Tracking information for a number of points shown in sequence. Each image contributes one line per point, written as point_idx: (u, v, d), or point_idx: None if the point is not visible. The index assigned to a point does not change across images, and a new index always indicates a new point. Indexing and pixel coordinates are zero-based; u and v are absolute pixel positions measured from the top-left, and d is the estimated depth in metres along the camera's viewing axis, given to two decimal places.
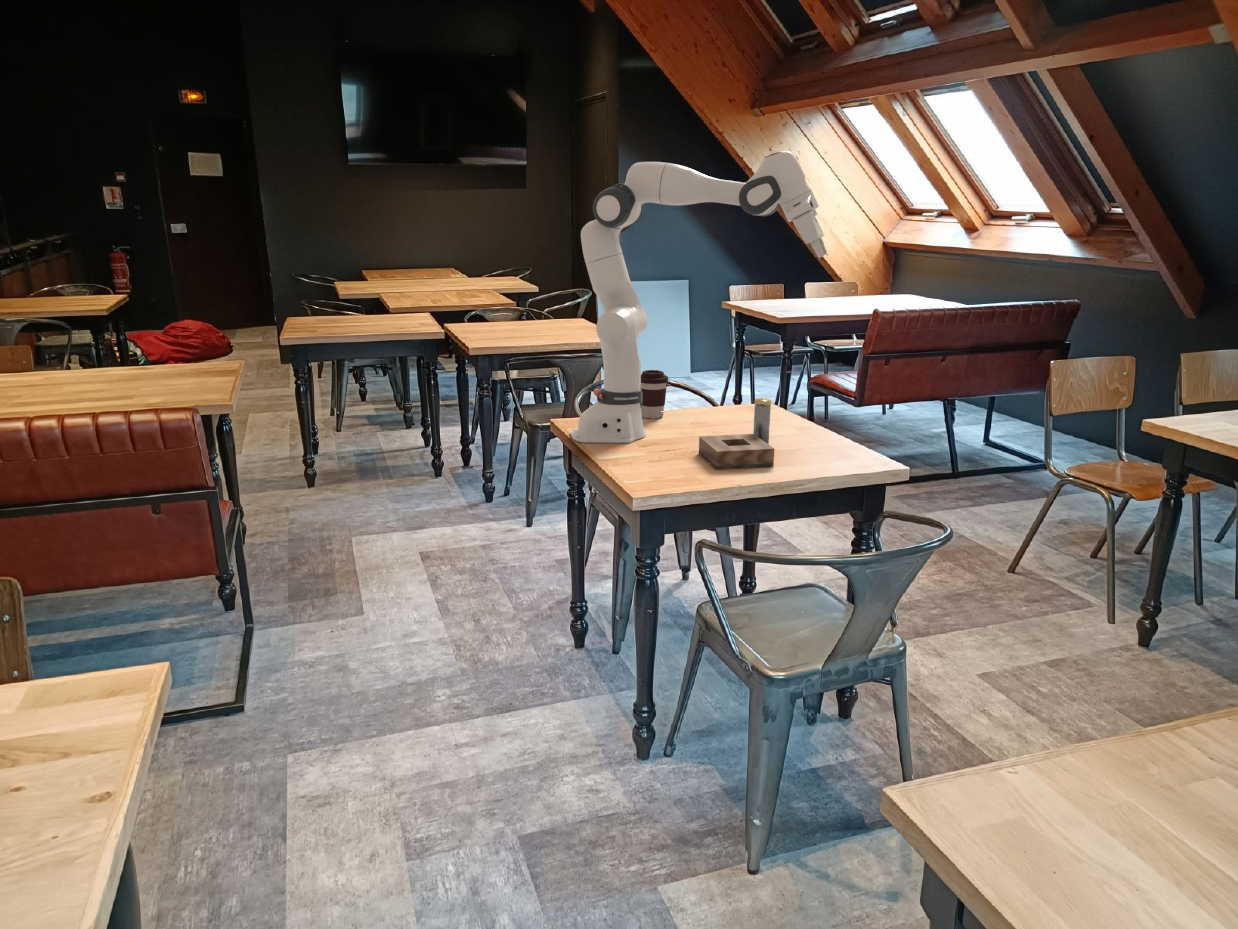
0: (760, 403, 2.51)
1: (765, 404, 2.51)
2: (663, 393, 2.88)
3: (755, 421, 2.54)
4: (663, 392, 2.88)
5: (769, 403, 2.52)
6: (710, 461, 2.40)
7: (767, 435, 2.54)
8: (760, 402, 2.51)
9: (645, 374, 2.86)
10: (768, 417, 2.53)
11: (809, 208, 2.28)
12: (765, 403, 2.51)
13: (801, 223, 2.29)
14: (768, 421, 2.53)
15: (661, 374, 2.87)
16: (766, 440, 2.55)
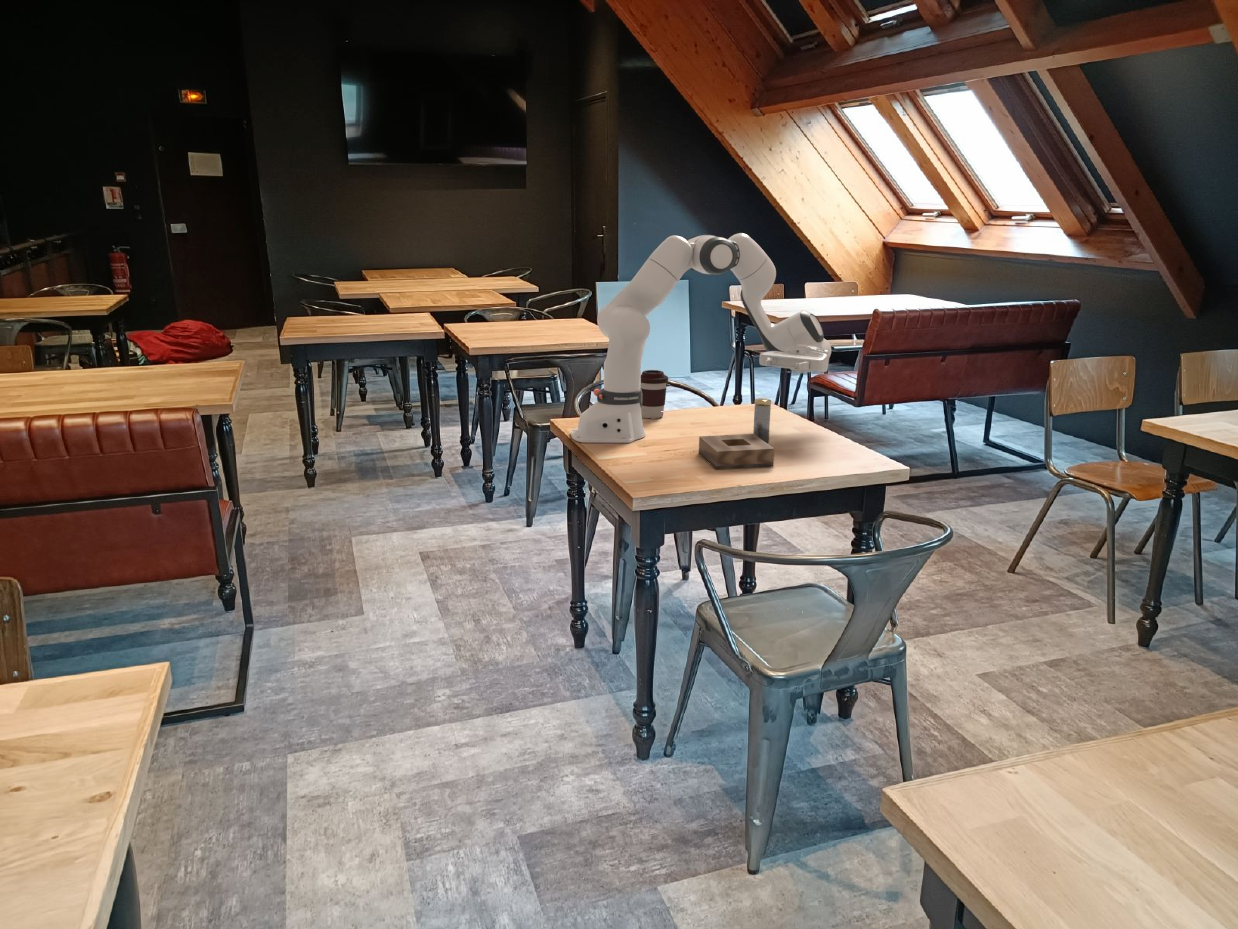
0: (760, 403, 2.51)
1: (765, 404, 2.51)
2: (663, 393, 2.88)
3: (755, 421, 2.54)
4: (663, 392, 2.88)
5: (769, 403, 2.52)
6: (710, 461, 2.40)
7: (767, 435, 2.54)
8: (760, 402, 2.51)
9: (645, 374, 2.86)
10: (768, 417, 2.53)
11: (825, 370, 2.66)
12: (765, 403, 2.51)
13: (826, 361, 2.63)
14: (768, 421, 2.53)
15: (661, 374, 2.87)
16: (766, 440, 2.55)
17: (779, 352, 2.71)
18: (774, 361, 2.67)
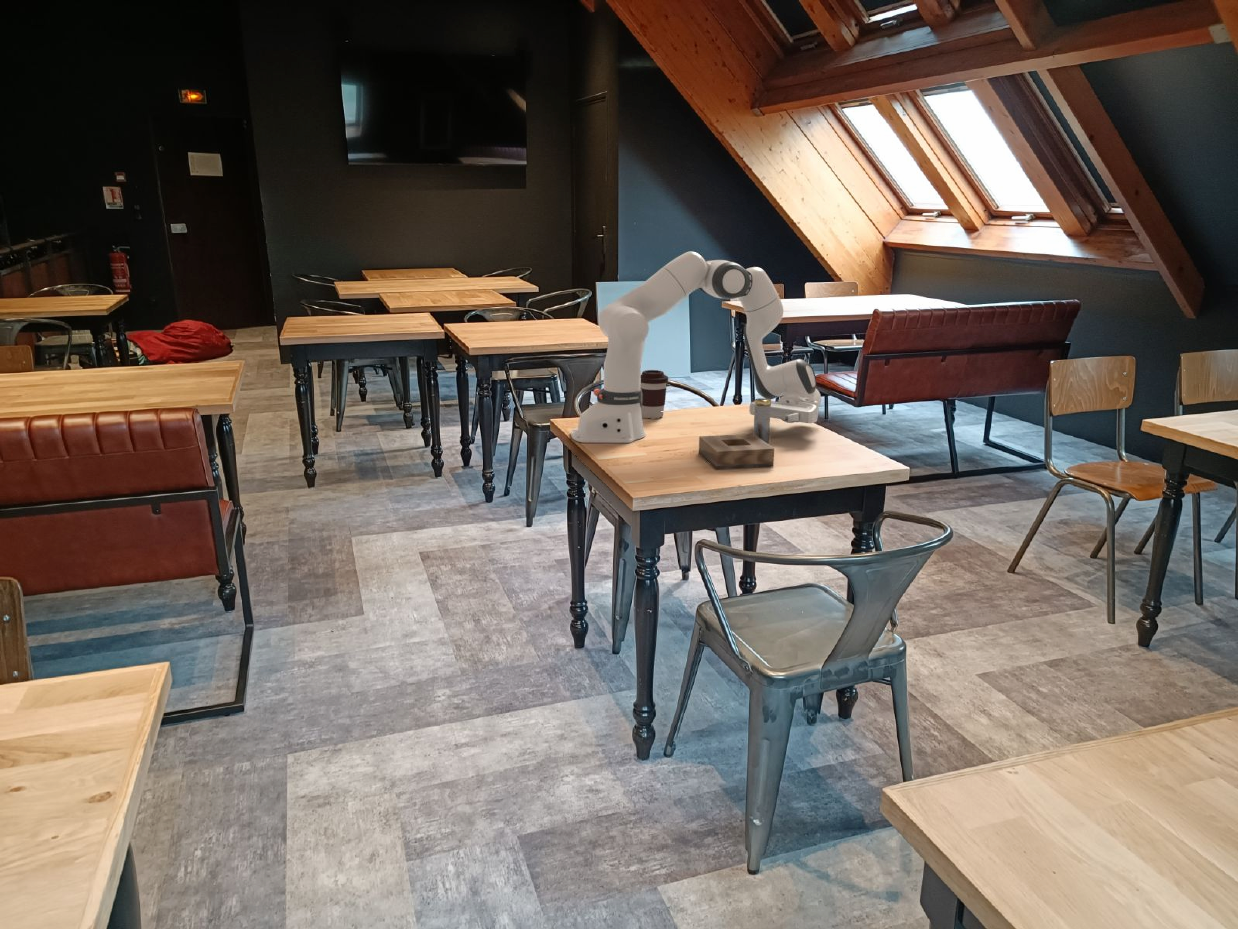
0: (760, 403, 2.51)
1: (765, 404, 2.51)
2: (663, 393, 2.88)
3: (755, 421, 2.54)
4: (663, 392, 2.88)
5: (769, 403, 2.52)
6: (710, 461, 2.40)
7: (767, 435, 2.54)
8: (760, 402, 2.51)
9: (645, 374, 2.86)
10: (768, 417, 2.53)
11: (815, 420, 2.67)
12: (765, 403, 2.51)
13: (816, 412, 2.64)
14: (768, 421, 2.53)
15: (661, 374, 2.87)
16: (766, 440, 2.55)
17: None
18: None
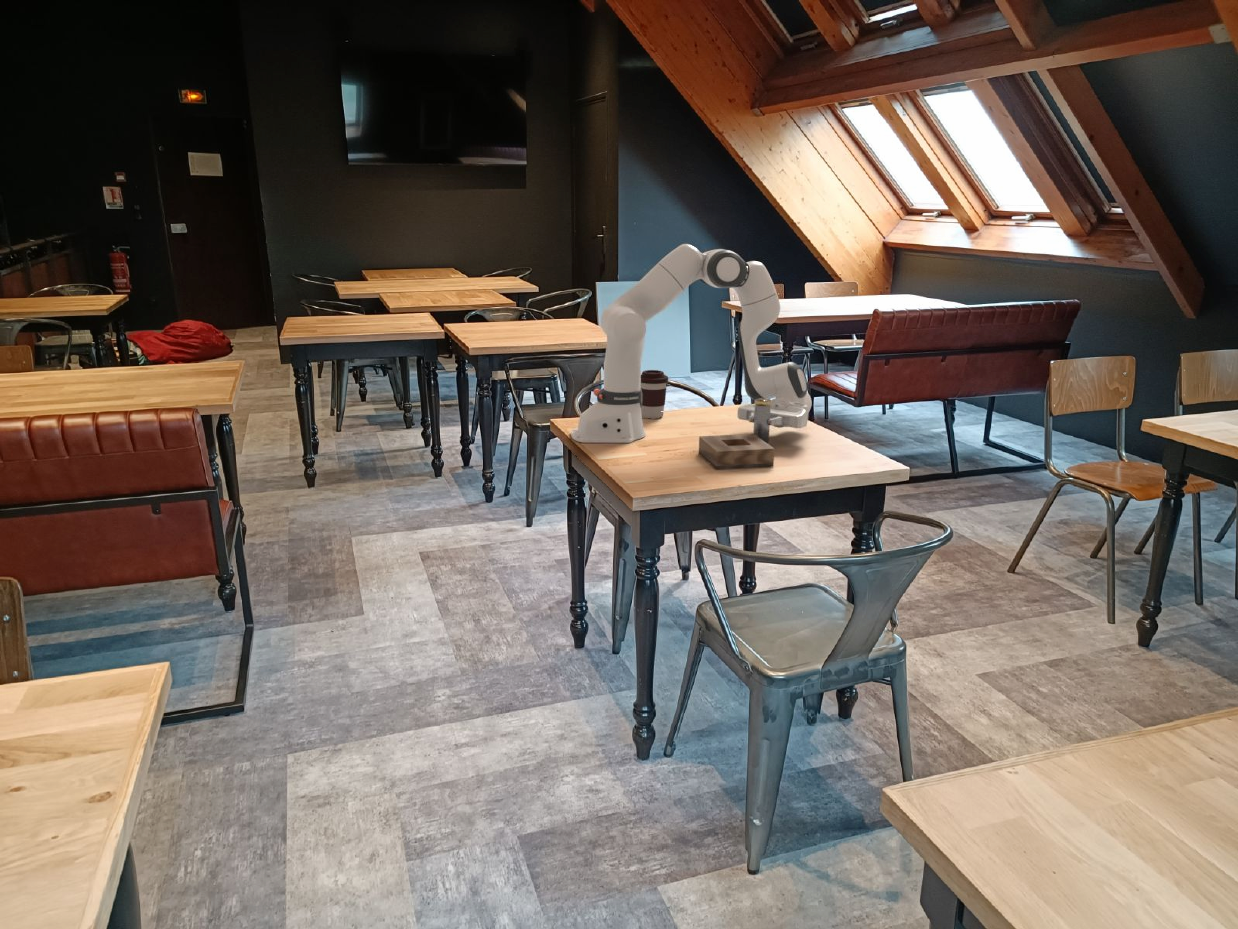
0: (760, 403, 2.51)
1: (765, 404, 2.51)
2: (663, 393, 2.88)
3: (755, 421, 2.54)
4: (663, 392, 2.88)
5: (769, 403, 2.52)
6: (710, 461, 2.40)
7: (767, 435, 2.54)
8: (760, 402, 2.51)
9: (645, 374, 2.86)
10: (768, 417, 2.53)
11: (805, 425, 2.60)
12: (765, 403, 2.51)
13: (806, 416, 2.57)
14: None
15: (661, 374, 2.87)
16: (766, 440, 2.55)
17: None
18: None
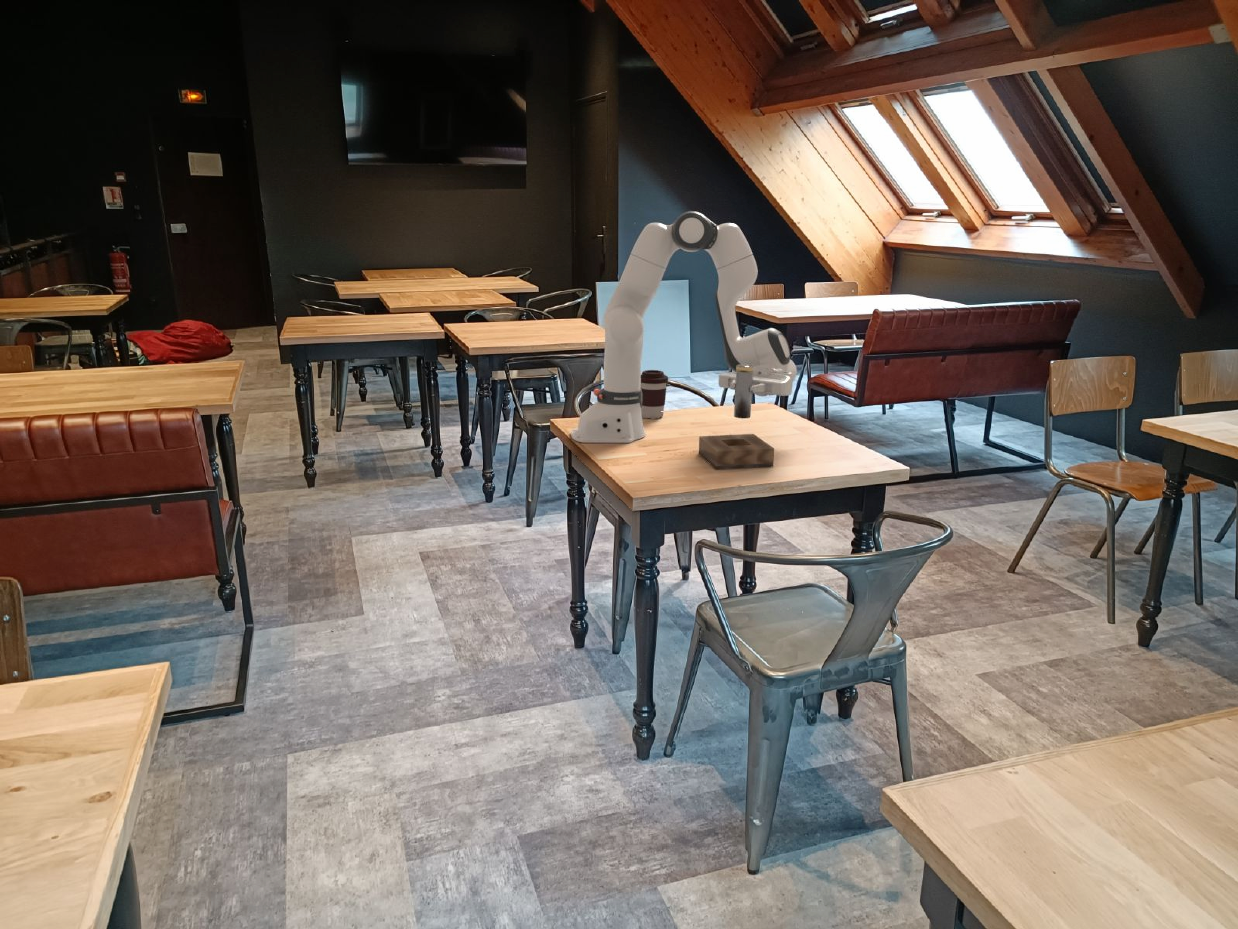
0: (742, 369, 2.38)
1: (747, 370, 2.38)
2: (663, 393, 2.88)
3: (736, 388, 2.41)
4: (663, 392, 2.88)
5: (751, 369, 2.39)
6: (710, 461, 2.40)
7: (749, 403, 2.41)
8: (742, 368, 2.38)
9: (645, 374, 2.86)
10: (750, 384, 2.40)
11: (789, 393, 2.47)
12: (747, 369, 2.38)
13: (790, 384, 2.44)
14: None
15: (661, 374, 2.87)
16: (748, 408, 2.41)
17: None
18: None
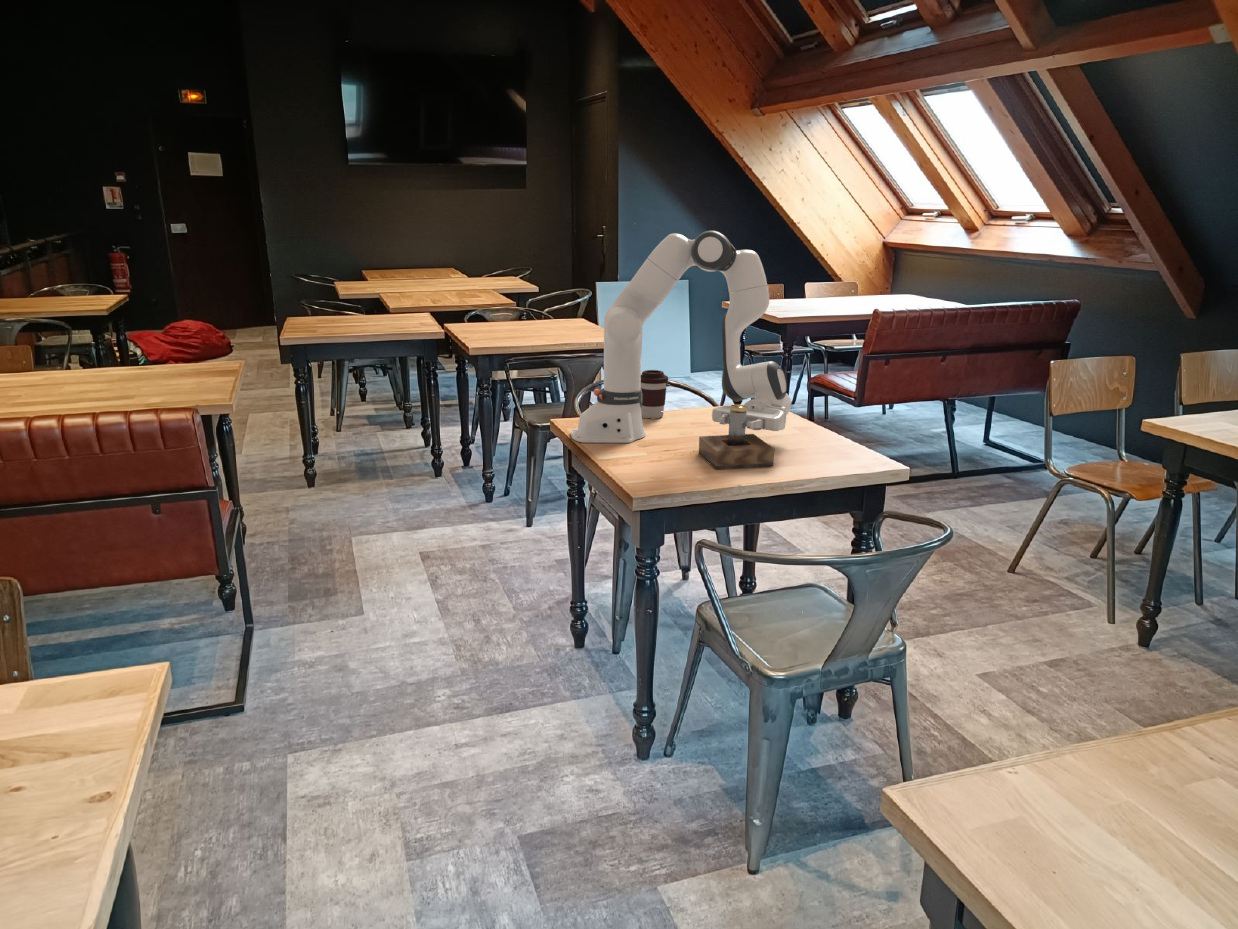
0: (735, 410, 2.38)
1: (741, 411, 2.38)
2: (663, 393, 2.88)
3: (730, 428, 2.41)
4: (663, 392, 2.88)
5: (745, 410, 2.39)
6: (710, 461, 2.40)
7: (742, 443, 2.41)
8: (735, 409, 2.38)
9: (645, 374, 2.86)
10: (744, 425, 2.40)
11: (782, 428, 2.47)
12: (741, 410, 2.38)
13: (783, 418, 2.43)
14: (744, 429, 2.40)
15: (661, 374, 2.87)
16: None
17: None
18: (729, 418, 2.47)
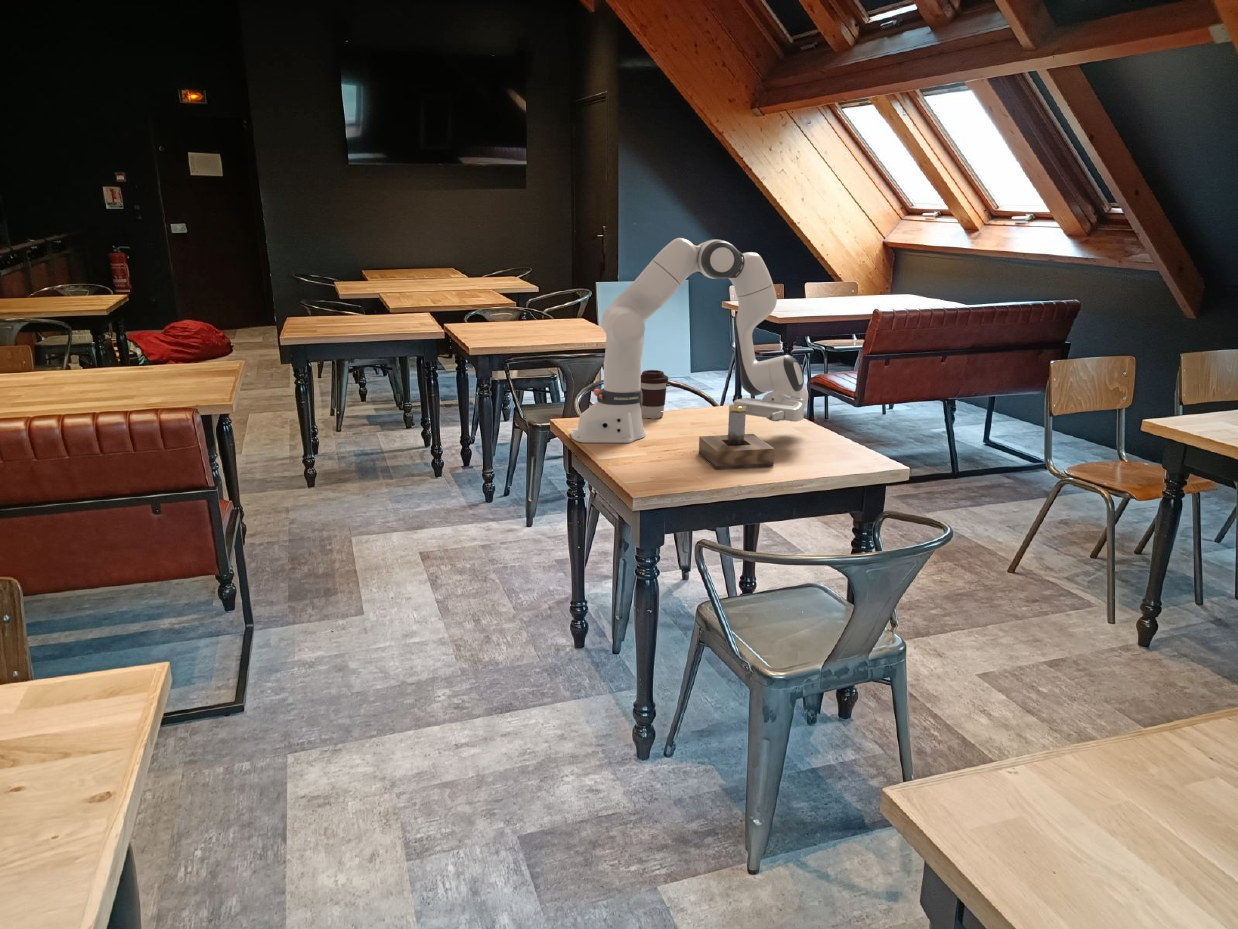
0: (734, 410, 2.38)
1: (740, 411, 2.38)
2: (663, 393, 2.88)
3: (729, 428, 2.41)
4: (663, 392, 2.88)
5: (744, 410, 2.39)
6: (710, 461, 2.40)
7: (742, 443, 2.41)
8: (734, 409, 2.38)
9: (645, 374, 2.86)
10: (743, 424, 2.40)
11: (801, 419, 2.57)
12: (740, 410, 2.38)
13: (802, 410, 2.54)
14: (743, 429, 2.40)
15: (661, 374, 2.87)
16: None
17: (753, 399, 2.62)
18: (748, 409, 2.57)
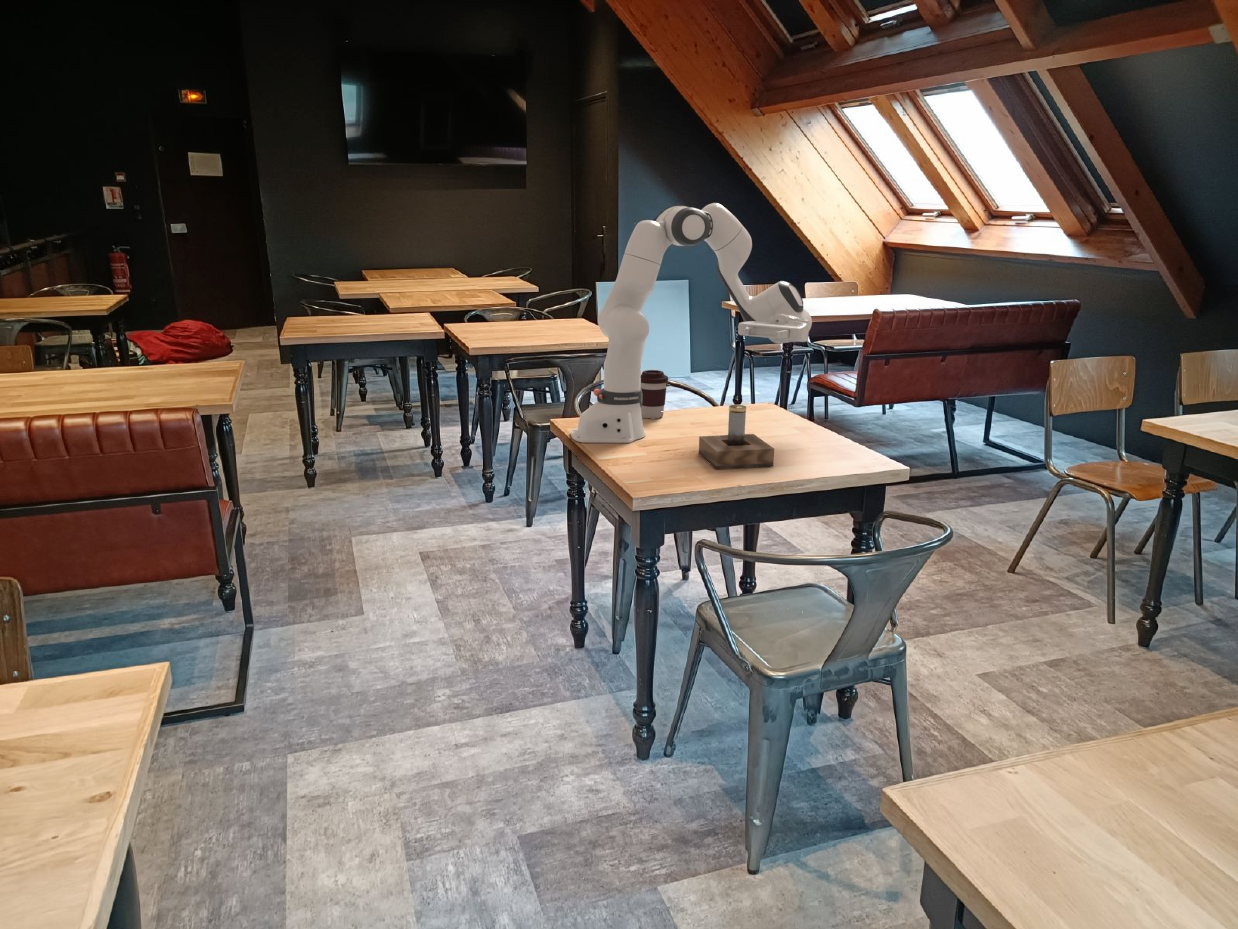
0: (734, 410, 2.38)
1: (740, 411, 2.38)
2: (663, 393, 2.88)
3: (729, 429, 2.41)
4: (663, 392, 2.88)
5: (744, 410, 2.39)
6: (710, 461, 2.40)
7: (742, 443, 2.41)
8: (734, 409, 2.38)
9: (645, 374, 2.86)
10: (743, 425, 2.40)
11: (805, 340, 2.60)
12: (740, 410, 2.38)
13: (806, 330, 2.57)
14: (743, 429, 2.40)
15: (661, 374, 2.87)
16: None
17: (758, 322, 2.65)
18: (753, 330, 2.61)
